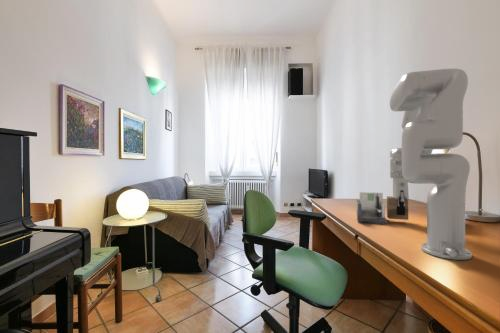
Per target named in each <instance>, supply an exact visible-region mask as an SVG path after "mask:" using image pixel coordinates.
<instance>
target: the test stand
mask: <svg viewBox="0 0 500 333" xmlns="http://www.w3.org/2000/svg"><path fill="white" fill-rule="evenodd" d="M383 195H384V194H383V192H364V191H363V192H362V191H361V192H359V199H356V219H357V223H359V224H374V225H375V224H376V225H387V218H386V217H385V218H381V217H380V213H379V217H377V196H379V209H380V203H382V204H383V205H384V201H383V200H384V199H383V198H384V197H383Z"/></svg>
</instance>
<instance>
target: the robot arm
mask: <svg viewBox="0 0 500 333" xmlns="http://www.w3.org/2000/svg"><path fill="white" fill-rule="evenodd" d="M468 78H469V77H468V74H467V72H466V71H464V69H460V68H440V69H431V70H429V69H428V70H420V71H411V72H408V73H405V74H404V75H403V76H402V77H401V78H400V79H399V81H398V82H397V84H396V86H395V87H394V89H393V91H392V93H391V96H390V98H389V99H390V100H389V108H390V110H391V111H393V112H404V114H403V118H402V122H401V128H402V134H401V147H397V148H393V149H391V150H390V152H389V159H390V160H389V163H390V164H389V169H390V170H389V171H390V172H389V173H390V179H392V196H394V197H395V198H396V199H397V205H398V206H397V215H405V199H407V200H408V201H409V199H410V198H409V197H410V196H409V184H414V185H415V184H421V185H422V184H424V185H425V184H429V185H431V184H432V185H433V186H432V187H431V189H430V190H429V192H428V194H427V197H426V242H424V243H421V247H420V248H421V250H422V251H423V252H424V253H427V254H429V255H432V256H434V257H438V258H442V259H447V260H456V261H457V260H458V261H460V260H461V261H463V260H464V261H466V260H470V259H472V258H473V253H472V252H471V250H469V249H467V248H466V194H467V193H466V192H467V184H468V180H469V175H470V168H471V165H470V162H469V161H468V158H466V157H465V156H464V155H461V154H459V153H451V152H450V153H448V152H447V153H442V152H441V153H433V150H448V149H450V150H451V149H455V148H457V147H459V146H460V145H461V144H462V142H463V134H464V133H463V132H464V130H463V129H464V126H463V125H464V122H463V121H464V108H463V107H464V99H465V95H466V92H467V89H468V85H469V79H468ZM404 197H405V199H404ZM399 198H401V200H399ZM399 201H400V202H399Z"/></svg>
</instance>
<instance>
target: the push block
mask: <svg viewBox="0 0 500 333" xmlns="http://www.w3.org/2000/svg"><path fill="white" fill-rule="evenodd" d="M404 199H405V197H404ZM399 200H401V198H399ZM399 202H400V201H399ZM397 206H398V205H397V199H396V198H395V197H394V196H393V195H392V196H388V195H387V196H386V217H387V218H388V219H389V220H409V199H408V200H407V199H405V215H397Z"/></svg>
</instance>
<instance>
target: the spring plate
mask: <svg viewBox="0 0 500 333" xmlns="http://www.w3.org/2000/svg"><path fill="white" fill-rule="evenodd" d="M377 212H378V213H380V217H381V218H386V206H385V205H384V203H383V204H382V203H380V209H377Z"/></svg>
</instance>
